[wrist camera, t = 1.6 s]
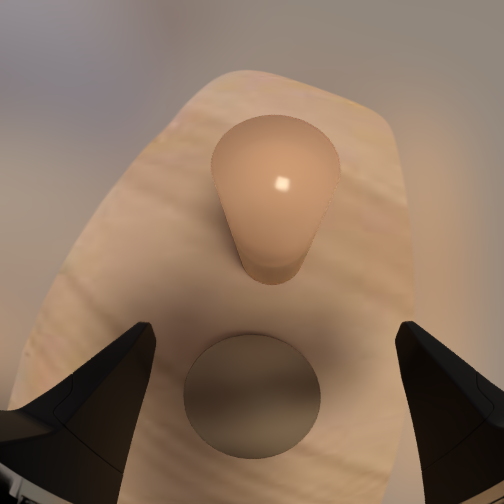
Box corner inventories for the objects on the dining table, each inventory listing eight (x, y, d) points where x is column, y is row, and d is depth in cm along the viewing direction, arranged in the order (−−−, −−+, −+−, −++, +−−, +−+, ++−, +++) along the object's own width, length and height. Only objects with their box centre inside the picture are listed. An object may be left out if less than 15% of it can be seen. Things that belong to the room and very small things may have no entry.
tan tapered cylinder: (310, 276, 22) (359, 204, 10) (247, 291, 22) (222, 232, 10) (294, 219, 24) (315, 108, 11) (235, 231, 24) (204, 127, 11)
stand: (325, 434, 18) (330, 442, 16) (206, 455, 18) (201, 464, 16) (301, 322, 21) (304, 320, 19) (179, 346, 21) (171, 347, 19)
